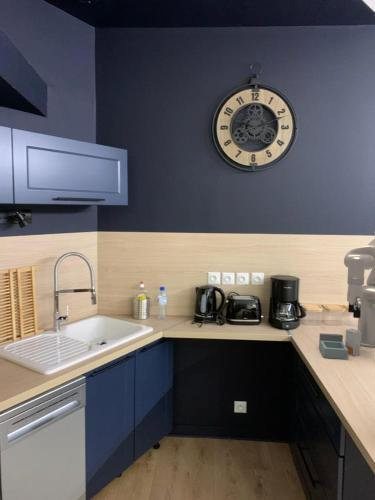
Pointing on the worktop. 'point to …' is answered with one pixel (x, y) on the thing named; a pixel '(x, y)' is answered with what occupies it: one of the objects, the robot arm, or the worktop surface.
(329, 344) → the holder
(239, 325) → the worktop surface
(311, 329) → the worktop surface
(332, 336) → the backstop wall
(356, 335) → the skincare box
